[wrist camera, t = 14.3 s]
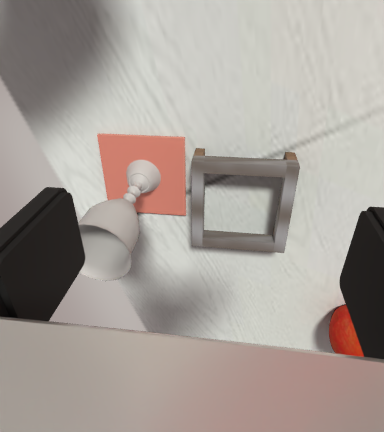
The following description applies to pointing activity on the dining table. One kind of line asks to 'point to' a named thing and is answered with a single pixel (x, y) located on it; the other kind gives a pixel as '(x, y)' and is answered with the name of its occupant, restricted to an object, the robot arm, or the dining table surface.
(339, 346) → the apple
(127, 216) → the chalice
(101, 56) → the dining table surface
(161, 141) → the coaster
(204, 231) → the ring stand
